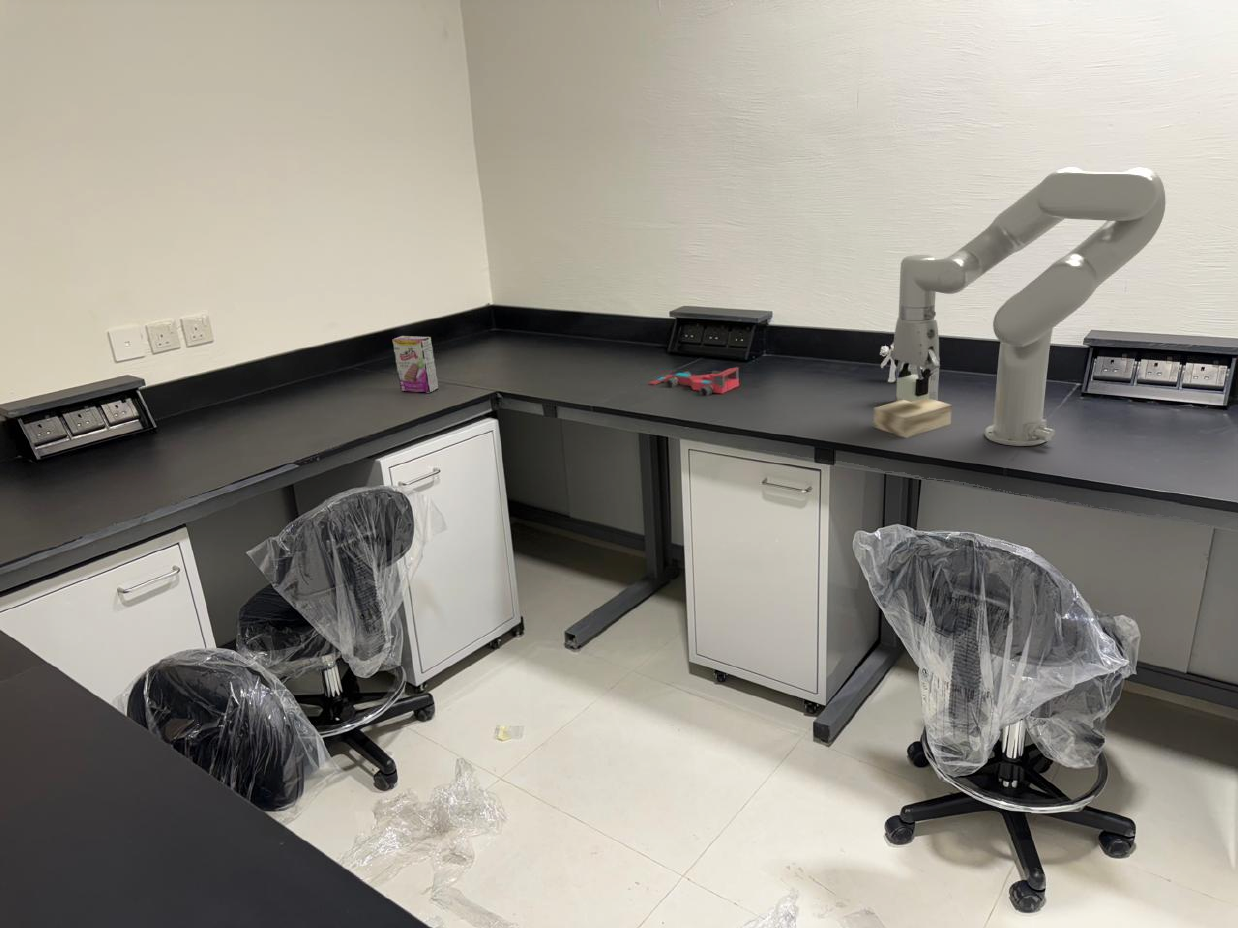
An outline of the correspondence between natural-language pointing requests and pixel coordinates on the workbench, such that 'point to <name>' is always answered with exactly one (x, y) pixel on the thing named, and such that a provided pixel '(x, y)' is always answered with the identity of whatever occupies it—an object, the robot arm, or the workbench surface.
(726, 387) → the race car
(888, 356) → the hat wearing toy figure
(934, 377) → the ink cartridge box
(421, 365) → the candy bar box
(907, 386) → the sage cube
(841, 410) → the workbench surface
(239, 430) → the workbench surface
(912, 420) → the maple block
